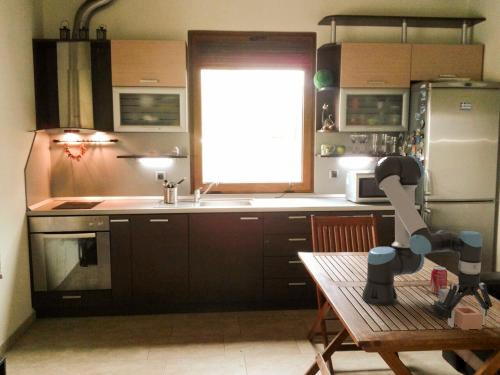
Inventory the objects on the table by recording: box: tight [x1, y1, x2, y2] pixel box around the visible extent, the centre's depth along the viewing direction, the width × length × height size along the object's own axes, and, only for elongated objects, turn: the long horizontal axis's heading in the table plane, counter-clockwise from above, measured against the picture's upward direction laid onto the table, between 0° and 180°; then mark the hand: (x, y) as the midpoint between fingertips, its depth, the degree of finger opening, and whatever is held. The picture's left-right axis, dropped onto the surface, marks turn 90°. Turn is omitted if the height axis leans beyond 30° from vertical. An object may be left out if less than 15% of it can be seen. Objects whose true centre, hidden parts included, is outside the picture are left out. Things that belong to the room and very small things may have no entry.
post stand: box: [423, 288, 457, 320], centre depth 183 cm, size 12×12×10 cm
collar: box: [453, 305, 483, 331], centre depth 171 cm, size 8×8×6 cm
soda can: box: [429, 265, 448, 295], centre depth 207 cm, size 7×7×12 cm
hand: (465, 325), depth 171 cm, fingers open, 12 cm apart
